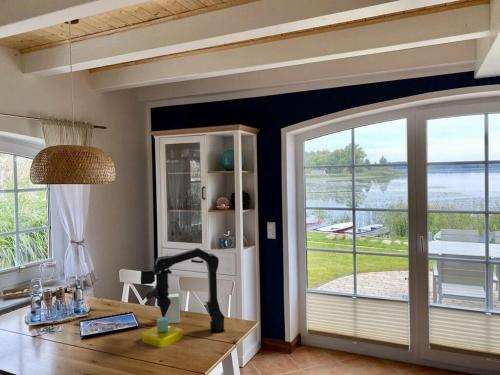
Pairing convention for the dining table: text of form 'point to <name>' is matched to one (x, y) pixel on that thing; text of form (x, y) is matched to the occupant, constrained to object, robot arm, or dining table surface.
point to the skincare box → (173, 309)
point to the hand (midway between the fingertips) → (162, 314)
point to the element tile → (162, 336)
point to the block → (162, 324)
